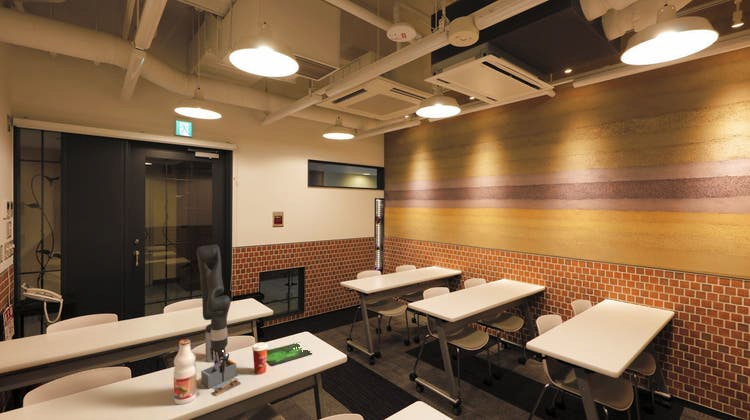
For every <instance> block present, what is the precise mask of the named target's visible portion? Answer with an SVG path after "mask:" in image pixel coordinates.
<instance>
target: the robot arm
mask: <svg viewBox="0 0 750 420" xmlns="http://www.w3.org/2000/svg"><path fill="white" fill-rule="evenodd" d="M196 255H197V257H196V258H197V262H198V268H199V278H200V281H199V282H200V290H201V298H202V299H201V301H202V318H203V319H204V320H205V321H210V323H209V324H207V325H206V327H205V361H206V362H208V363H209V362H210V363H214V364H213V366H214V369H215V364H216V363H217V362H218V361H219V364H220V373H223V372H224V371H225V365H226V364H228V360H229V356H230V354H229V352H226V347H227V346H228V344H229V343H228V341H229V340H228V334H229V333H228V320H227V319H228V314H229V311H230V310H229V309H230V306H231V298H230V296H228V295H221V294H223V293H224V291H225V286H224V283H223V282H224V280H223V277H222V276H223V275H222V274H223V273H222V256H221V250H220V247H219V245H218V244H210V245H202V246H199V247H198V248H197V250H196ZM208 263H214V265H213V266H212V267H213V268H212V269H210V268H209V267H208V265H207V264H208ZM221 361H222V363H221ZM225 361H226V362H225Z"/></svg>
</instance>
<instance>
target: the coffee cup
mask: <svg viewBox="0 0 750 420" xmlns="http://www.w3.org/2000/svg"><path fill="white" fill-rule="evenodd" d="M268 347H269V346H268V343H266V342H262V341H261V342H257V343H254V344H253V345H252V349H251V350H252V354H253V355H252V357H253V371H254V374H256V375H263V374H265V373H266V372H267V371H266V370H267V363H268V362H267V350H268V349H269V348H268Z"/></svg>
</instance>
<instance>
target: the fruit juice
mask: <svg viewBox="0 0 750 420" xmlns="http://www.w3.org/2000/svg"><path fill="white" fill-rule="evenodd" d="M191 341H192V340H191V339H190V338H185V339H181V340H179V342H178V346H179V349H178V352H177V354H176V355H175V357H174V358H173V359H174V360H173V365H174V370H173V401H174V403H175V404H176V405H185V404H188V403H190V402H192V401H194V400H195V399H196V398H197V394H198V393H197V392H198V389H197V382H198V381H197V366H196V360H197V356H196V353H195V352H194V351H193V350H192V348H191V344H192V342H191Z"/></svg>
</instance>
